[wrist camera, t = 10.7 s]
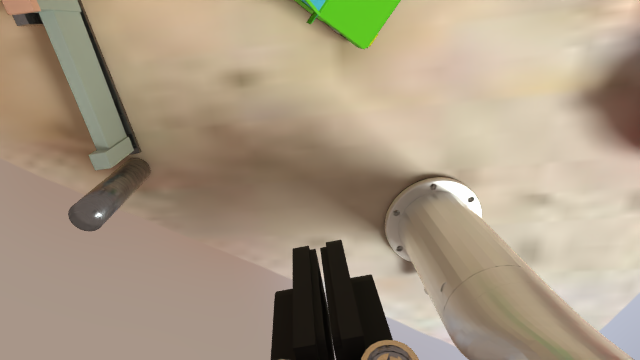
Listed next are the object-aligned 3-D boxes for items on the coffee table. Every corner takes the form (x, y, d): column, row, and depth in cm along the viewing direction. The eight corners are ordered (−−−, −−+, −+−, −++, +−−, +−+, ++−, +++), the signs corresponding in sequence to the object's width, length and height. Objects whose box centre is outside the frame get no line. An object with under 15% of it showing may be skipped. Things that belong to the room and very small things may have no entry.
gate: (135, 150, 38) (104, 174, 32) (117, 152, 38) (82, 178, 32) (75, -11, 32) (21, -20, 25) (54, -8, 32) (-6, -16, 25)
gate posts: (153, 178, 41) (108, 228, 30) (118, 184, 41) (61, 236, 30) (62, -51, 31) (-47, -88, 21) (16, -43, 31) (-115, -76, 21)
